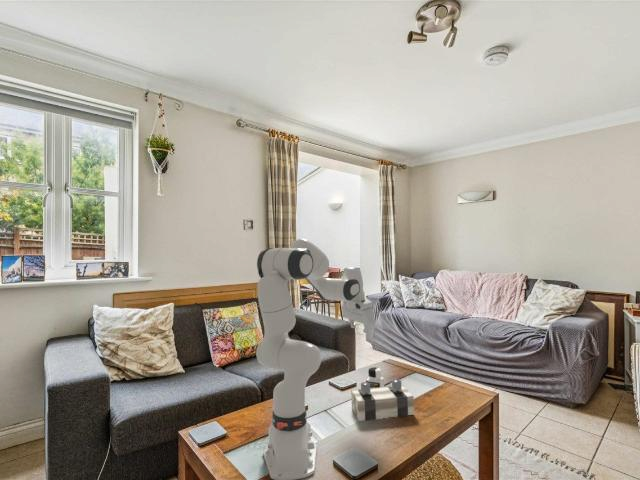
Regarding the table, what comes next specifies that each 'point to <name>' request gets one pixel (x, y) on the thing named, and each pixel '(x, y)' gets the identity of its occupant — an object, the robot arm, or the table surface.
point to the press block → (382, 403)
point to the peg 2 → (396, 386)
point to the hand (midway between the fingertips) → (359, 330)
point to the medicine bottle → (375, 378)
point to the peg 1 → (365, 389)
